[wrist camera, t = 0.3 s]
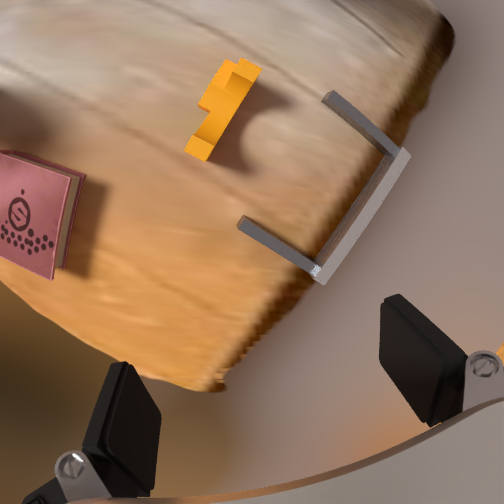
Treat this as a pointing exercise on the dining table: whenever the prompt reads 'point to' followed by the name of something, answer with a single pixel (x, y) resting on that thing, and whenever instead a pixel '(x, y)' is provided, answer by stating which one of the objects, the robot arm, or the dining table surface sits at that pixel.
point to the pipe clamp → (221, 104)
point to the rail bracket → (359, 210)
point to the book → (36, 211)
